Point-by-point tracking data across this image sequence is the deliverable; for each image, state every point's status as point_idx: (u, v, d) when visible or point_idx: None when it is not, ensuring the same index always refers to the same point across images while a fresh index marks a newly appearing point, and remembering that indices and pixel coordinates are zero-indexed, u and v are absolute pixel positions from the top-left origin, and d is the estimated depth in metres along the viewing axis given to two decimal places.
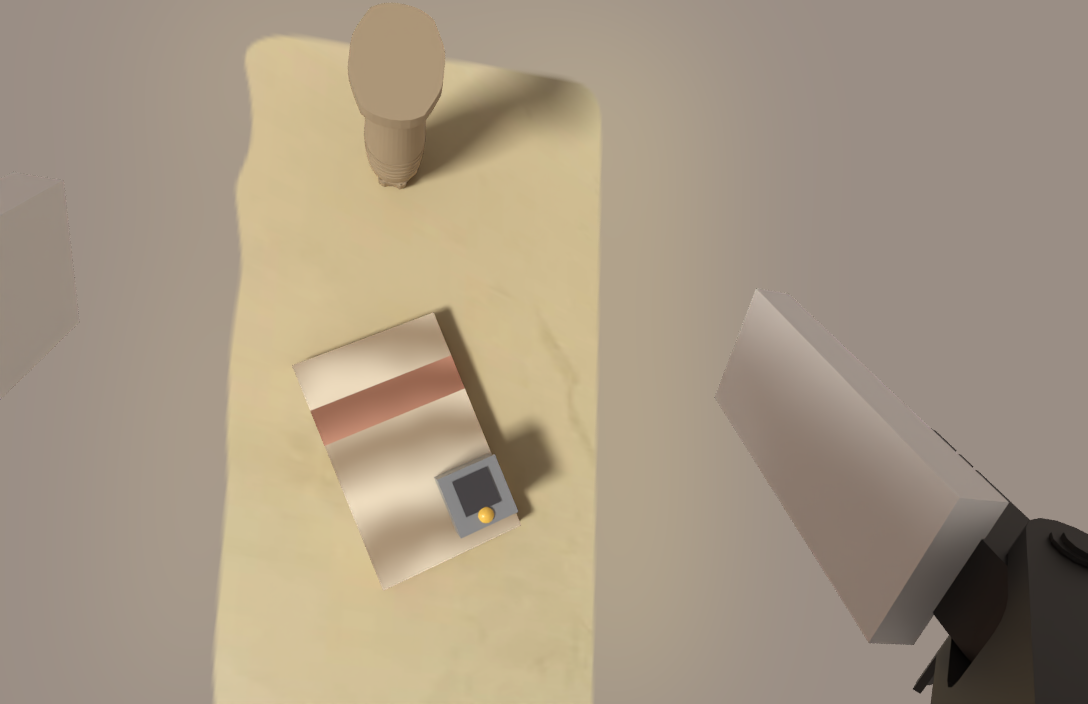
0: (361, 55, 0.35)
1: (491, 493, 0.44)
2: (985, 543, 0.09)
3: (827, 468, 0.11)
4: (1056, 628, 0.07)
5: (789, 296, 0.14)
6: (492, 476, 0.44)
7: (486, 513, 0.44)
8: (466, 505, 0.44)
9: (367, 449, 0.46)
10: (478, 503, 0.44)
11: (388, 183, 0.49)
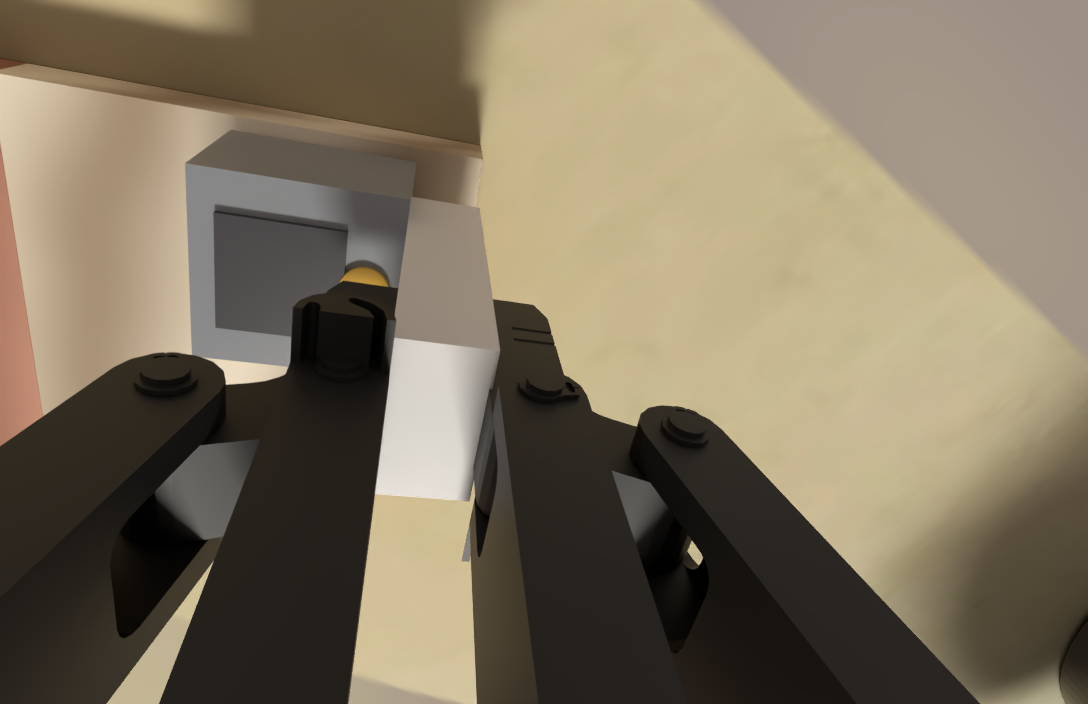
0: None
1: (309, 244, 0.13)
2: (489, 392, 0.10)
3: None
4: (531, 478, 0.07)
5: (476, 209, 0.15)
6: (256, 209, 0.13)
7: None
8: None
9: None
10: None
11: None
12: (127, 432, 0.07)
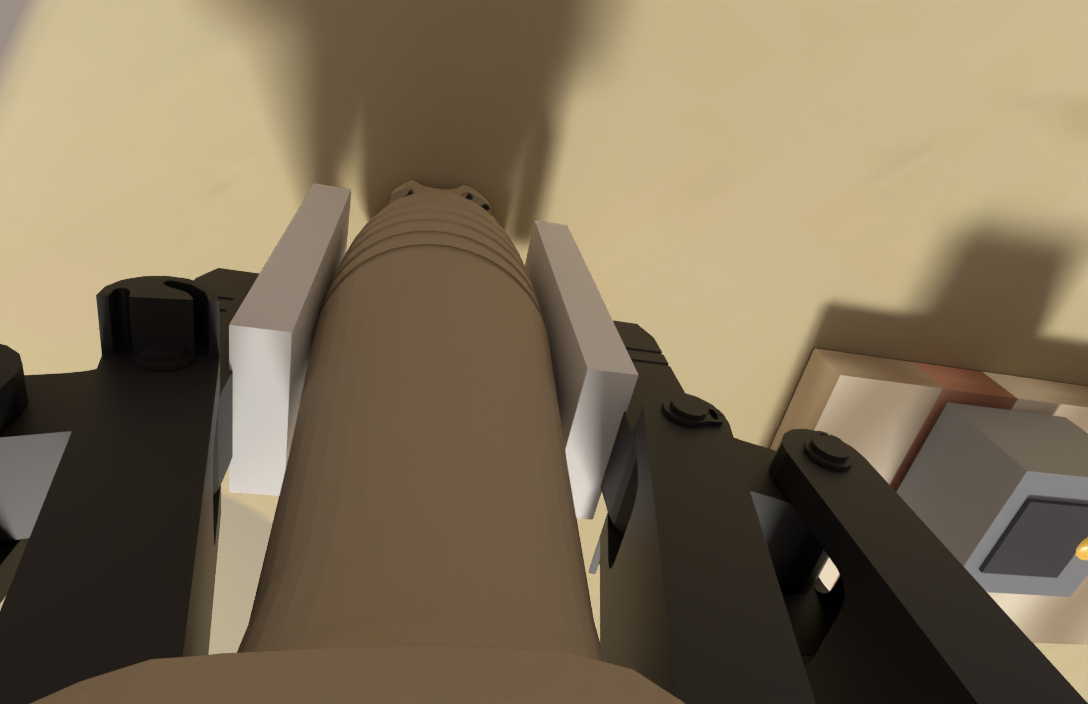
0: None
1: (1079, 518, 0.17)
2: (624, 414, 0.10)
3: None
4: (673, 495, 0.08)
5: (565, 227, 0.15)
6: (1053, 496, 0.17)
7: None
8: (1042, 568, 0.18)
9: None
10: (1064, 548, 0.18)
11: None
12: None
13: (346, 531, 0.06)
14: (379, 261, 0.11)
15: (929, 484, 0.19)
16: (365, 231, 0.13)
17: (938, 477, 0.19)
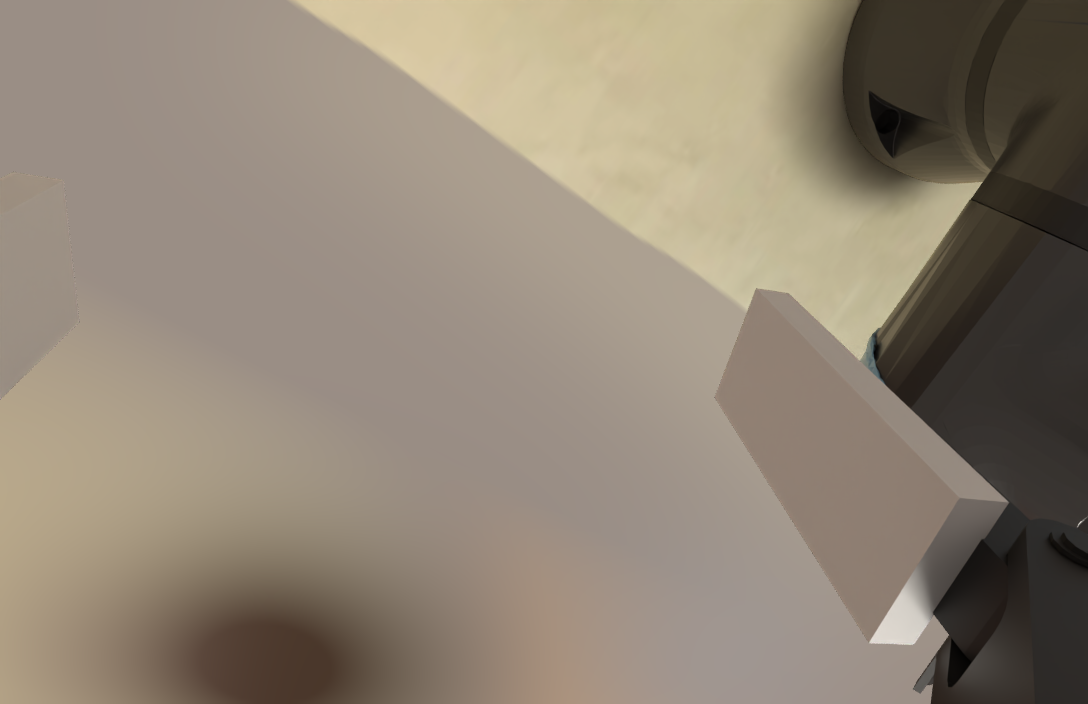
0: None
1: None
2: (985, 543, 0.09)
3: (827, 468, 0.11)
4: (1056, 628, 0.07)
5: (789, 296, 0.14)
6: None
7: None
8: None
9: None
10: None
11: None
12: None
13: None
14: None
15: None
16: None
17: None
